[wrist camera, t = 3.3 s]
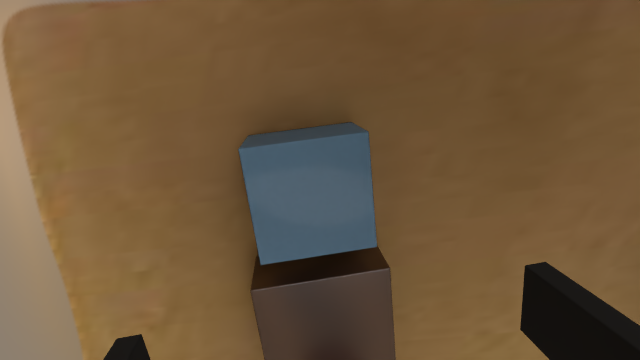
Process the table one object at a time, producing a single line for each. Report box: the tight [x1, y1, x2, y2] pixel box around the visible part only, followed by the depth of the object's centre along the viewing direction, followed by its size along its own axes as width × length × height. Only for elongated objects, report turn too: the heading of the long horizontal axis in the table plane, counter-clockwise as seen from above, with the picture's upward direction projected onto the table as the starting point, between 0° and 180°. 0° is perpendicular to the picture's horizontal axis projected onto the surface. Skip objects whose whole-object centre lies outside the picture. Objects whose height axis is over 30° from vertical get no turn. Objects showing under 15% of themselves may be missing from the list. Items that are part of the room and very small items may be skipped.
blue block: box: [238, 122, 377, 265], centre depth 22 cm, size 8×8×5 cm
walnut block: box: [250, 246, 396, 360], centre depth 25 cm, size 10×10×4 cm
